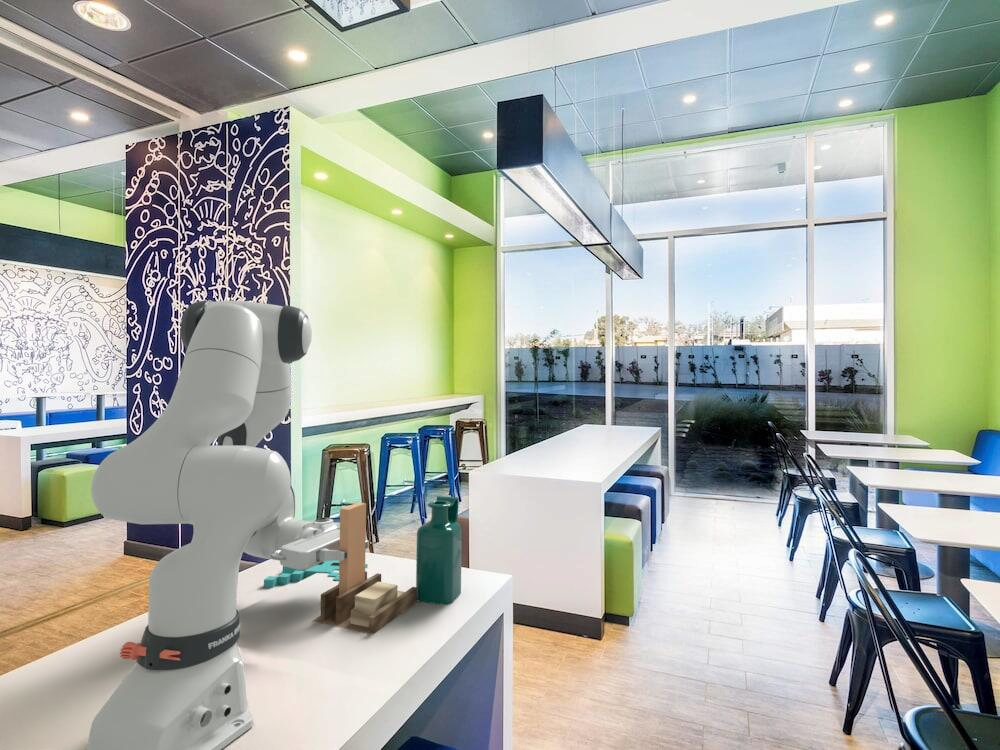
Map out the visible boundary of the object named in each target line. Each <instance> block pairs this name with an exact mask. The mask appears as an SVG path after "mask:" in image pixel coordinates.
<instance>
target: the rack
mask: <svg viewBox="0 0 1000 750" xmlns="http://www.w3.org/2000/svg"><path fill="white" fill-rule="evenodd" d="M377 582H382V573H378V572H377V573H376V574H374V575H372V576H370V577H368V571H366V570H365V581H363V582H361V583H360V584H358V585H356V586H355V587H353V588H351V589H349V590H348V591H346V592H344V593H342V594H341V595H339V585H338V584H337V585H335V586H333V587H331V588H330V589H327V590H326V591H324V592H322V593H321V594H320V614H319V615H320V616H318V617H316V618H314V619H313V620H312V622H313V623H319V624H324V625H327V626H333V627H337V628H342V629H347V630H352V631H356V632H361V633H364V634H365V633H366V634H370V635H375V634H376V633H377V632H379V631H380V630H381V629H382V628H384V627H385V626H386V625H388V624H389V623H390V622H392V621H393V620H395V619H396V618H398V617H399V616H400V615H401V614H403V613H404V612H405V611H406V610H408V609H409V608H411V607H412V606H413V605H415V604H416V603H417V602H418V601H417V587H416V586H412V587H410V588H408V589H407V590H406V591H403V592H404V593H403V594H402V595H400V596H399V597H397V598H396V599H394V600H393V601H391V602H390V603H388V604H387V605H386V606H384V607H383V608H381V609H380V610H378V611H377V612H375V613H374V614H372V615H371V616H370V617H369V627H365V626H360V625H355V624H351V610H352V609H354V608H355V595H357V594H359V593H360V592H362V591H364V590H365V589H367V588H369V587H370V586H372V585H374V584H375V583H377Z"/></svg>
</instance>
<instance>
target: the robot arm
mask: <svg viewBox="0 0 1000 750" xmlns="http://www.w3.org/2000/svg"><path fill="white" fill-rule="evenodd" d="M310 323H311V322H310V321H309V317H308V314H306V312H305V311H304V310H303V309H301V308H299V307H295V306H292V305H288V304H285V305H283V306H282V305H278V304H271V303H264V302H254V301H253V302H252V301H249V300H219V301H214V300H211V299H207V300H199V301H195V302H193V303H191V305H189V306H188V307H187V308H186V309H185V310H184V312H183V314H182V316H181V321H180V337H181V342H182V344H183V346H184V348H185V349H186V351H185V355H184V359H183V361H182V366H181V369H180V371H179V376H178V377H177V382H176V385H175V387H174V390H173V391H172V394H171V398H170V400H169V402H168V404H167V406H166V407H165V409H164V410H163V412H161V414H160V415H159V417H158V418H157V419H156V420H155V421H154V422H153V424H151V425H150V426H149V427H148V429H146V431H144V432H143V433H142V434H141V435H140V436H138V437H137V438H136V439H134V440H133V441H131V442H130V443H128V444H127V445H124V446H123V447H121V448H119V449H117V450H115V451H113V452H111V453H109V455H107V456H106V457H104V459H103V460H102V461H101V462H100V464H98V466H97V468H96V469H95V472H94V474H93V477H92V481H91V486H90V487H91V488H90V490H91V491H90V493H91V499H92V502H93V504H94V507H95V508H96V510H97V511H98V512H99V514H101V515H102V517H104V518H106V519H110V520H114V521H120V522H125V523H129V524H137V525H181V524H182V525H183V524H185V525H186V524H189V525H192V527H193V534H192V539H191V541H190V542H189V543H188V544H185V545H183V546H181V547H179V548H177V549H175V550H173V551H171V552H170V553H168V554H166V555H165V556H164V557H162V558H161V559H160V560H159V561H157V563H156V564H155V565H154V567H153V568H152V570H151V572H150V576H149V577H148V578H149V579H148V610H147V611H148V614H147V615H148V621H147V622H148V624H147V625H146V627H144V629H145V630H144V631H143V635H142V636H141V640H140V642H138V643H135V642H133V641H127V642H125V643H124V644H123V645H122V646H121V648H120V650H119V655H120V656H119V657H120V658H121V659H124V660H129V659H131V660H133V661H135V660H136V662H135V663H134V665H133V666H132V668H131V669H130V670H129V672H127V675H126V676H125V677H124V678H123V680H122V681H121V683H120V684H119V685H118V686H117V687H116V689H115V690H114V692H113V693H112V694H111V695H110V697H109V698H108V700H106V702H105V703H104V705H103V706H102V707H101V709H100V710H99V711H98V713H97V714H96V715H95V716H94V718H93V720H92V723H91V726H90V729H89V734H88V740H87V746H86V747H87V748H85V749H84V750H222V749H224V748H225V747H226V746H228V745H229V744H231V743H232V742H233V741H235V740H236V739H237V738H239V737H240V736H241V735H243V734H244V733H245V732H247V731H248V730H249V729H251V728H253V726H254V724H255V723H254V715H253V713H252V712H251V710H249V708H248V707H249V703H248V697H247V696H248V695H247V685H246V675H245V667H244V662H243V660H242V659H243V658H242V657H241V654H240V650H239V647H238V646H239V645H238V641H239V639H240V636H241V631H240V630H241V621H240V611H239V610H238V609H237V601H238V600H237V598H238V580H239V570H240V563H241V559H242V557H243V554H244V553H245V554H247V555H249V556H252V557H256V558H260V559H267V560H272V561H273V560H274V561H279V563H280V565H281V566H282V567H283V566H285V567H289V568H292V569H297V570H306V569H309V568H311V567H313V566H315V565H317V564H320V563H322V562H324V561H334V560H337V561H343V560H345V559H346V558H347V551H346V550H342V549H340V521H339V522H334V519H332V518H321V519H316V520H308V519H307V520H306V519H305V520H302V519H296V518H295V516H296V515H295V514H296V499H295V497H296V496H295V492H294V488H293V486H292V484H291V483H292V481H291V480H292V479H291V472H290V468H289V467H288V463H287V461H286V460H285V459H284V458H283V456H282V455H281V454H280V453H279V452H278V451H275V450H271V449H267V448H261V447H256V446H258V444H259V443H260V442H261V441H262V440H263V439H264V438H265V437H266V436H267V435H269V433H270V432H271V431H272V430H274V429H276V427H278V425H280V424H281V422H283V421H284V420H285V419H286V417H287V415H288V414H289V411H290V407H291V403H292V375H291V374H292V372H291V365H290V364H293V362H297V361H300V360H301V359H302V358H303V357H305V356H306V355H307V353H308V350H309V347H310V345H311V342H312V339H313V338H312V337H313V336H312V335H313V334H312V333H313V332H312V327H311V324H310ZM215 440H217V444H216V445H212V443H213V442H215ZM369 548H370V541H369V540H368V539H366V549H365V550H367V549H369Z"/></svg>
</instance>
